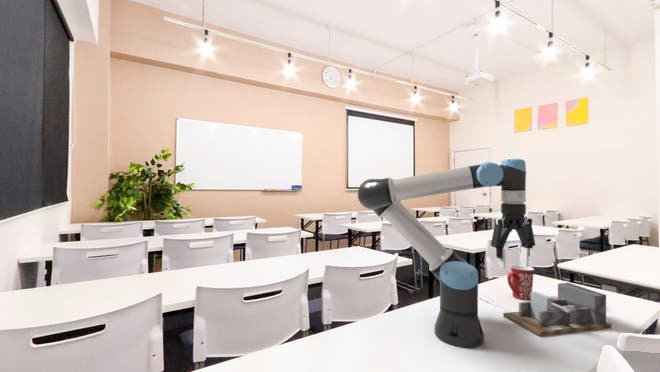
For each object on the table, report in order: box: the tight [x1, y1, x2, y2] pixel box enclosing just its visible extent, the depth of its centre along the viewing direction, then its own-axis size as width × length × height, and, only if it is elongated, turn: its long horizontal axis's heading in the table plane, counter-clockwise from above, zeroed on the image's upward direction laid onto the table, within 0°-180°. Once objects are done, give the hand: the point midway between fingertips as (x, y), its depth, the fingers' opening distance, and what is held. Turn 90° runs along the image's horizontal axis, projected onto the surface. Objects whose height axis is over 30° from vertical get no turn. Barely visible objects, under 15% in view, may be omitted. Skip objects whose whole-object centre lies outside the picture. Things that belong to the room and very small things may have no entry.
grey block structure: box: [502, 282, 612, 338], centre depth 114 cm, size 30×16×12 cm, turn 102°
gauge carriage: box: [530, 291, 571, 326], centre depth 111 cm, size 8×11×9 cm
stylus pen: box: [478, 294, 507, 311], centre depth 132 cm, size 15×3×2 cm, turn 15°
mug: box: [506, 264, 535, 301], centre depth 139 cm, size 13×9×14 cm
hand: (513, 266), depth 110 cm, fingers open, 9 cm apart
